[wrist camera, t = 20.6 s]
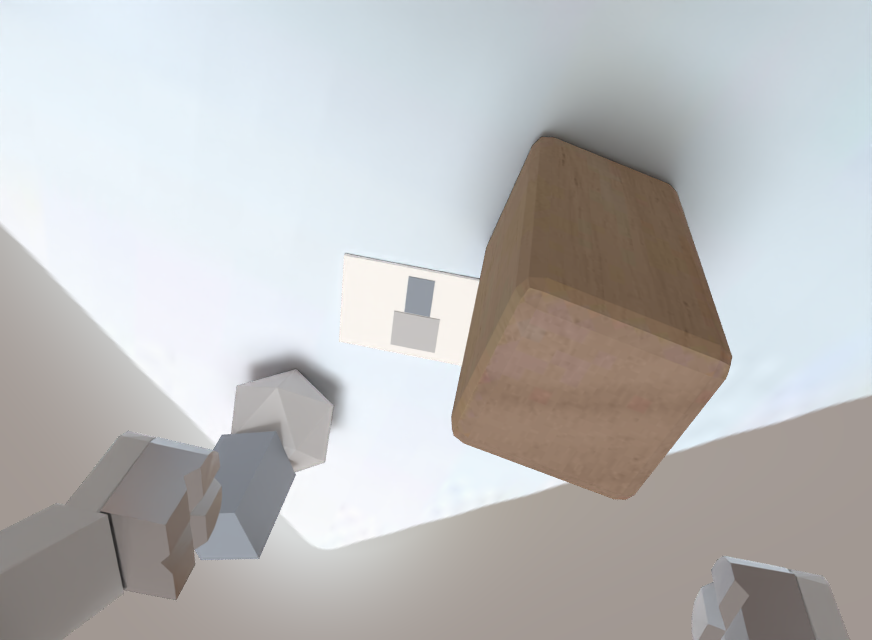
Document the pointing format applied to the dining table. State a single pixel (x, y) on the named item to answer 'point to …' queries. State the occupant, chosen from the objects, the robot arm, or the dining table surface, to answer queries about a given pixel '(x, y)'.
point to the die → (286, 415)
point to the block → (588, 325)
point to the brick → (248, 494)
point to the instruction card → (406, 309)
